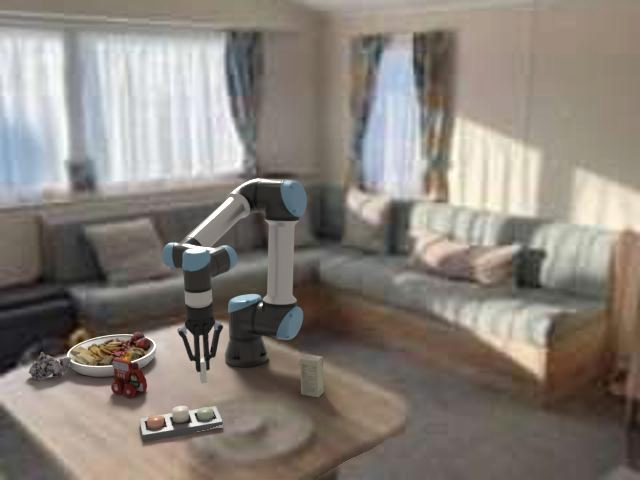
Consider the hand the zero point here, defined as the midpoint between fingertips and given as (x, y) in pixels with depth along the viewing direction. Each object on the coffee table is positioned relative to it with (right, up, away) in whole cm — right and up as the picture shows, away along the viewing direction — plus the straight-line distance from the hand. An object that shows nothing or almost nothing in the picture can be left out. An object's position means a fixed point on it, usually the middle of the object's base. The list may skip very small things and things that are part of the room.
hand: (203, 381), depth 192 cm
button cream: (-6, -10, -2) cm, 12 cm away
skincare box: (+31, -8, +18) cm, 37 cm away
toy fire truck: (-27, -8, +20) cm, 34 cm away
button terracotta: (-13, -12, -4) cm, 18 cm away
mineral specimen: (-57, -6, +31) cm, 66 cm away
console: (-6, -13, -2) cm, 14 cm away
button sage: (+1, -11, 0) cm, 11 cm away
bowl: (-40, -3, +43) cm, 59 cm away
